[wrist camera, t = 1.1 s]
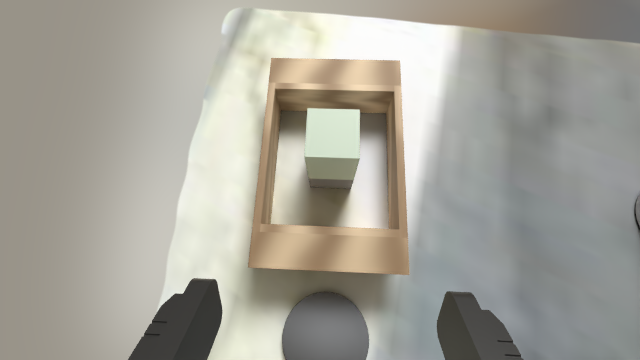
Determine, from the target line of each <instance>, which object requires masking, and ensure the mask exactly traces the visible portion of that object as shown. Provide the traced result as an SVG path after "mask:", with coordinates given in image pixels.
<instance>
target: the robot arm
mask: <svg viewBox="0 0 640 360" xmlns="http://www.w3.org/2000/svg"><path fill="white" fill-rule="evenodd" d="M636 217H637V221H638V223H639V226H640V195H639V196H638V199H637V202H636ZM221 319H222V305H221V300H220V295H219V290H218V285H217V281H216V280H215V279H198V278H194V279H192V280H191V281H190V283H189V284H188V286H187V288H186V290H185V291H184V293H183V294H174V295H173V296H172V297H171V298H170V299H169V300H167V301H166V302H165V303H164V304H163V305H162V306H161V307H160V309H159V311H158V312H157V314H156V315H155V317H154V319H153V320H152V324H150V325H149V327H148V328H147V330H146V332H145V333H144V337H142V338H141V340H140V341H139V343H138V344H137V346H136V348H135V349H134V351H133V352H132V354H131V356H130V357H129V359H128V360H207V358H208V356H209V353H210V351H211V348H212V345H213V343H214V340H215V338H216V335H217V332H218V330H219V327H220V324H221ZM437 333H438V338H439V342H440V345H441V348H442V351H443V354H444V357H445V360H523V359H522V358H521V354H520V353H519V351H518V349H517V347H516V346H515V344H513V340H512V338H511V337H510V335H509V333H508V331H507V330H506V328H505V326H504V324H503V323H502V322H501V321H500V320H499V319H498V318H497V317H496V316H495V315H494V314H493V313H492V312H491V311H490V310H481V308H480V306H479V304H478V302H477V300H476V298H475V297H474V295H473V294H472V293H470V292H450V291H448V292H446V294H445V297H444V300H443V303H442V307H441V310H440V313H439V317H438V320H437Z"/></svg>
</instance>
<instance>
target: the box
mask: <svg viewBox="0 0 640 360" xmlns="http://www.w3.org/2000/svg"><path fill="white" fill-rule="evenodd" d="M304 157H305V162H306V167H307V172H308V178H309V183H310V187H320V188H348V189H351V187H352V184H353V180H354V177H355V173H356V170H357V166H358V162H359V159H360V110H356V109H318V108H307V124H306V139H305V155H304Z"/></svg>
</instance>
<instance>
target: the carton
mask: <svg viewBox="0 0 640 360" xmlns="http://www.w3.org/2000/svg"><path fill="white" fill-rule="evenodd" d="M307 108H318V109H356V110H360V113H386V127H387V166H388V205H389V229H376V228H351V227H327V226H302V225H277V224H271V213H272V202H273V192H274V181H275V171H276V160H277V149H278V139H279V128H280V118H281V111H307ZM248 267H249V268H270V269H292V270H314V271H335V272H357V273H379V274H401V275H409V255H408V232H407V210H406V187H405V164H404V141H403V119H402V96H401V73H400V61H388V60H340V59H292V58H271V67H270V76H269V85H268V94H267V103H266V112H265V120H264V129H263V138H262V147H261V156H260V165H259V174H258V183H257V192H256V201H255V210H254V219H253V228H252V236H251V245H250V254H249V263H248Z"/></svg>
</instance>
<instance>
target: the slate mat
mask: <svg viewBox="0 0 640 360" xmlns="http://www.w3.org/2000/svg"><path fill="white" fill-rule="evenodd" d="M282 343H283V351H284V355H285V358H286V360H366V357H367V353H368V348H369V335H368V329H367V326H366V322H365V320H364V318H363V316H362V314H361V313H360V311H359V310H358V308H357V307H356V306H355V305H354V304H353V303H352V302H351V301H349V300H348V299H347V298H345V297H343V296H341V295H339V294H335V293H331V292H320V293H315V294H312V295H309V296H307V297H306V298H304V299H302V300H301V301H300V302H299V303H298V304H297V305H296V306H295V307H294V308H293V309H292V311H291V312H290V314H289V316H288V318H287V320H286V322H285V326H284V329H283V339H282Z"/></svg>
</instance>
